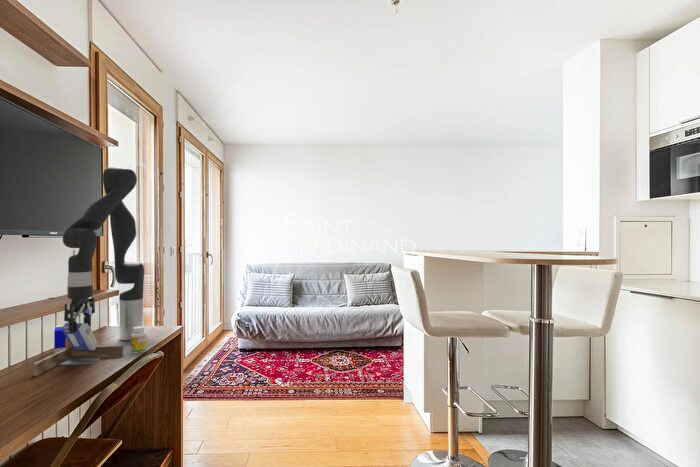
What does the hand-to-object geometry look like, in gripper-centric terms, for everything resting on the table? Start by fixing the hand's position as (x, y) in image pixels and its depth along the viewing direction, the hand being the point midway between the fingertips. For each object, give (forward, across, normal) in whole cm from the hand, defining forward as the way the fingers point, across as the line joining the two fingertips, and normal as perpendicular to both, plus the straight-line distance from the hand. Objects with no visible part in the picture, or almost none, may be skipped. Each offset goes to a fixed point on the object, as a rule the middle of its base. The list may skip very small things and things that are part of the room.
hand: (80, 329), depth 143 cm
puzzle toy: (+12, +12, +10) cm, 20 cm away
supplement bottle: (+12, +10, -16) cm, 22 cm away
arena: (+12, -4, -3) cm, 13 cm away
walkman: (+8, +4, 0) cm, 9 cm away
